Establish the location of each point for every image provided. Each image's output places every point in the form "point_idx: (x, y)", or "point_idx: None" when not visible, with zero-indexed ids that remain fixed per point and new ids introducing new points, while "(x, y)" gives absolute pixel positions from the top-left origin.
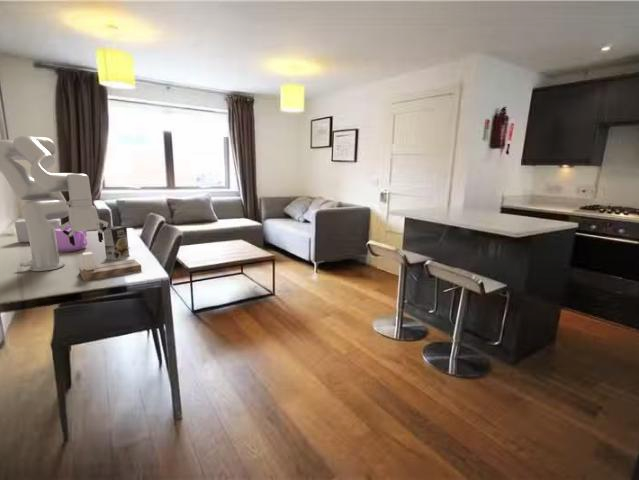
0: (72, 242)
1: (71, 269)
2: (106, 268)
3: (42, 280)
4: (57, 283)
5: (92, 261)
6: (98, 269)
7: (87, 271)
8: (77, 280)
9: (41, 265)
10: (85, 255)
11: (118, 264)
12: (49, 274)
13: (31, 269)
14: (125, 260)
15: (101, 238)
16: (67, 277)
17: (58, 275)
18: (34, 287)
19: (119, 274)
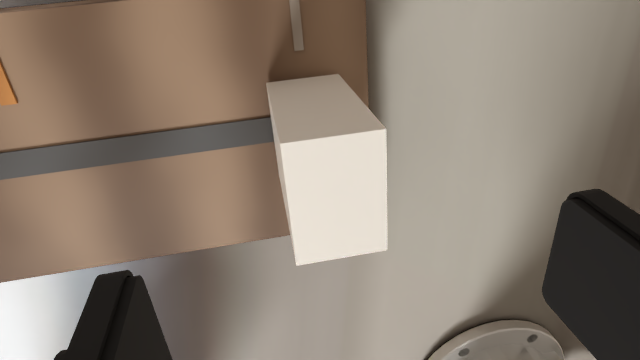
0: (638, 233)
1: (390, 305)
2: (163, 78)
3: (560, 148)
4: (512, 22)
5: (285, 108)
6: (235, 81)
7: (327, 58)
8: (391, 25)
9: (533, 358)
10: (367, 127)
11: (56, 165)
12: (503, 254)
13: (559, 346)
14: (10, 278)
15: (74, 339)
16: (435, 143)
17: (470, 213)
18: (636, 5)
19: (57, 3)
